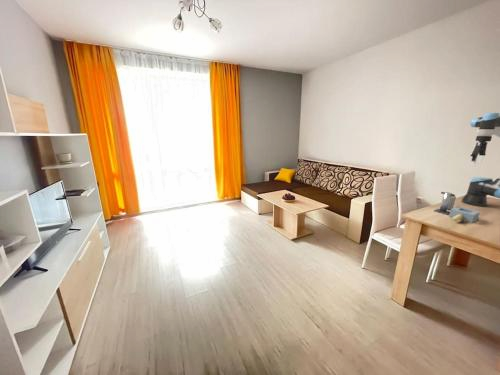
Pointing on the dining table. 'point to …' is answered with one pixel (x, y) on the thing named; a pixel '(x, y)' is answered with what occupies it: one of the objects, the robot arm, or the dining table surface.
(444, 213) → the mat
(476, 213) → the block
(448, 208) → the can
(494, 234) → the dining table surface
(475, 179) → the robot arm
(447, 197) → the silver tall rounded piece
